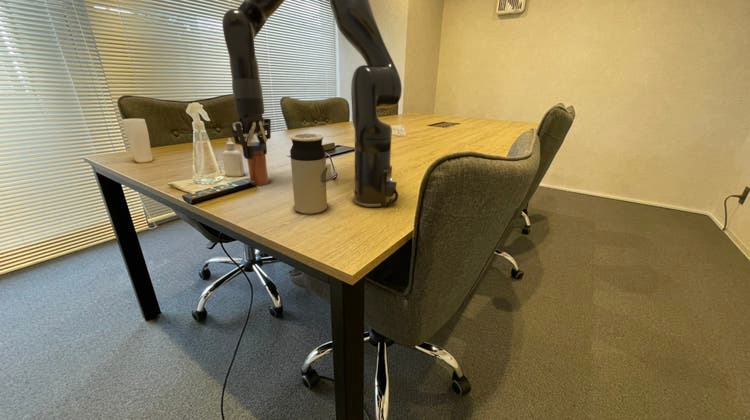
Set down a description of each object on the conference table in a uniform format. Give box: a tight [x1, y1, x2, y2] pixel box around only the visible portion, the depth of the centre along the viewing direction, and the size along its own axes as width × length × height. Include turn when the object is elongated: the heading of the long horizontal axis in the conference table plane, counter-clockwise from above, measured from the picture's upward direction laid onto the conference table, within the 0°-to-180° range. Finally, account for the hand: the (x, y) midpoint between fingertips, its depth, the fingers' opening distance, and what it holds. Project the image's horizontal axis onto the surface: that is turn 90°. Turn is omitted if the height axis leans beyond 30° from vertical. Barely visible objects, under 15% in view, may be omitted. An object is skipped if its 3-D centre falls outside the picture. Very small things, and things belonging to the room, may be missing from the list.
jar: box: [246, 150, 269, 186], centre depth 92 cm, size 5×5×10 cm
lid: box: [250, 141, 266, 152], centre depth 89 cm, size 6×6×2 cm
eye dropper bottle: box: [221, 137, 245, 178], centre depth 98 cm, size 4×6×12 cm
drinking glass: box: [121, 118, 154, 164], centre depth 110 cm, size 7×7×15 cm
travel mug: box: [289, 133, 328, 215], centre depth 73 cm, size 8×8×18 cm
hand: (256, 156), depth 90 cm, fingers closed on lid, 5 cm apart
